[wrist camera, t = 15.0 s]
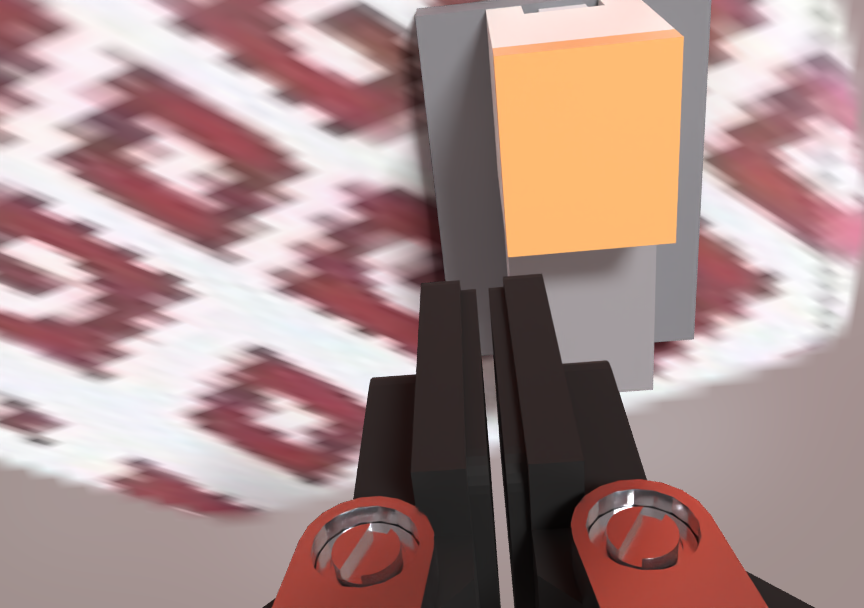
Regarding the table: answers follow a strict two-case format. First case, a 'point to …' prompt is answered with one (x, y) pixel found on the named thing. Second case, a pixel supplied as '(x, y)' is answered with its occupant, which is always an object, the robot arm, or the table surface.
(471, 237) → the rail board
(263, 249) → the table surface
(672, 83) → the block
